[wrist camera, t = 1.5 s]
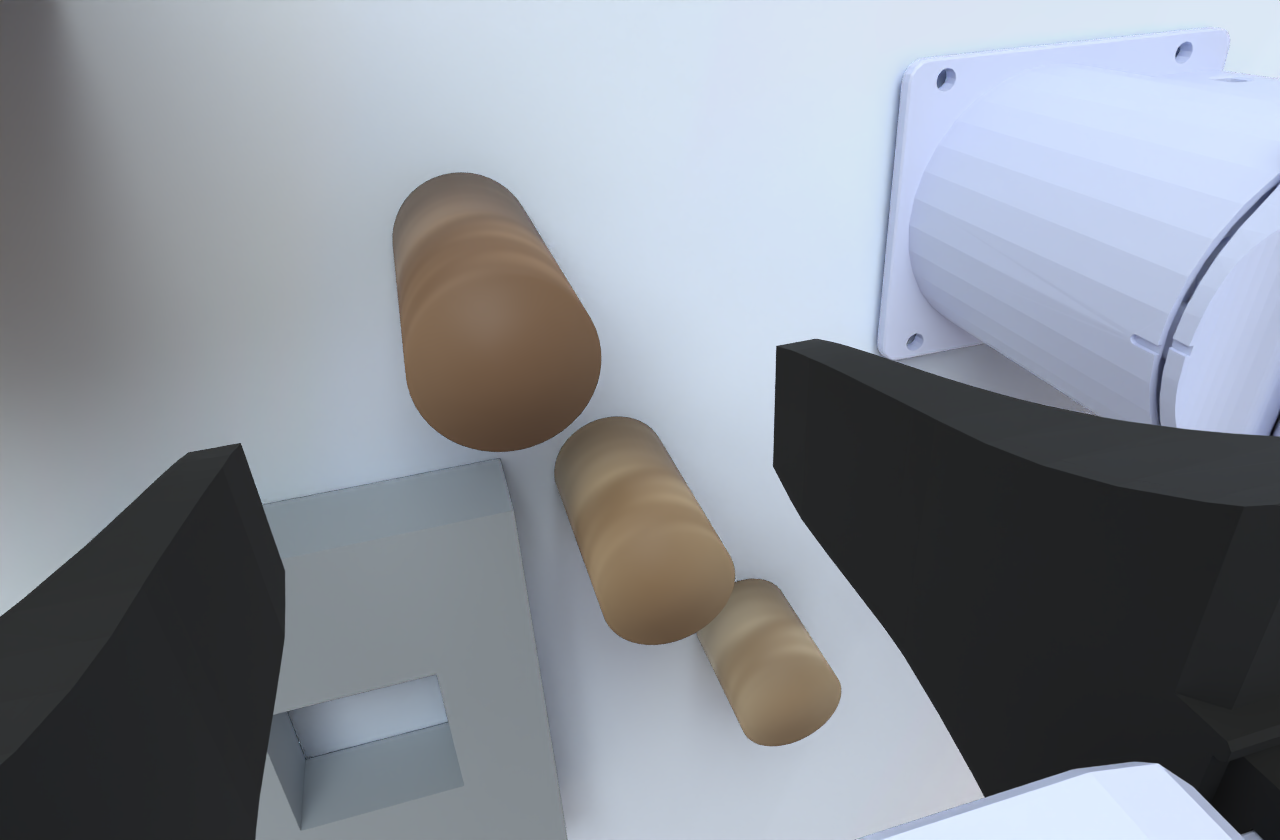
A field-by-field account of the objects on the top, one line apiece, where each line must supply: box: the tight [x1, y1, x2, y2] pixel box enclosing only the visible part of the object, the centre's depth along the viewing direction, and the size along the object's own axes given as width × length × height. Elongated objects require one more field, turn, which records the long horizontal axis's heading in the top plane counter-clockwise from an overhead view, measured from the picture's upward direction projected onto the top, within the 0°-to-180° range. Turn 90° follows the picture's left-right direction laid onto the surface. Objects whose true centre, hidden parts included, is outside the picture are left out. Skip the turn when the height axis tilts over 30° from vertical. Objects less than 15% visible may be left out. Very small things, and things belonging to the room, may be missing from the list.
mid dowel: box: [554, 417, 735, 645], centre depth 22 cm, size 3×3×6 cm
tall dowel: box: [393, 172, 601, 452], centre depth 17 cm, size 3×3×7 cm
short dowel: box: [696, 579, 841, 746], centre depth 27 cm, size 3×3×4 cm
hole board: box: [92, 458, 568, 840], centre depth 24 cm, size 10×14×2 cm
